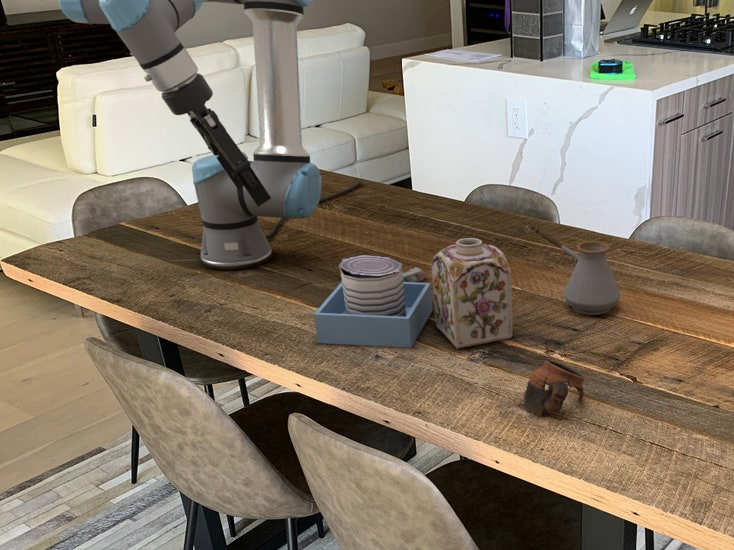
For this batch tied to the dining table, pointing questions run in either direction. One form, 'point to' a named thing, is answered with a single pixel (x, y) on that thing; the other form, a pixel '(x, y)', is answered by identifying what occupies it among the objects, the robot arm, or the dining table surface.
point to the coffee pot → (588, 277)
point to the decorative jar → (472, 293)
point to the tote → (374, 320)
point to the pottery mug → (551, 387)
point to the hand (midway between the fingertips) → (253, 193)
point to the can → (373, 286)
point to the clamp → (413, 275)
